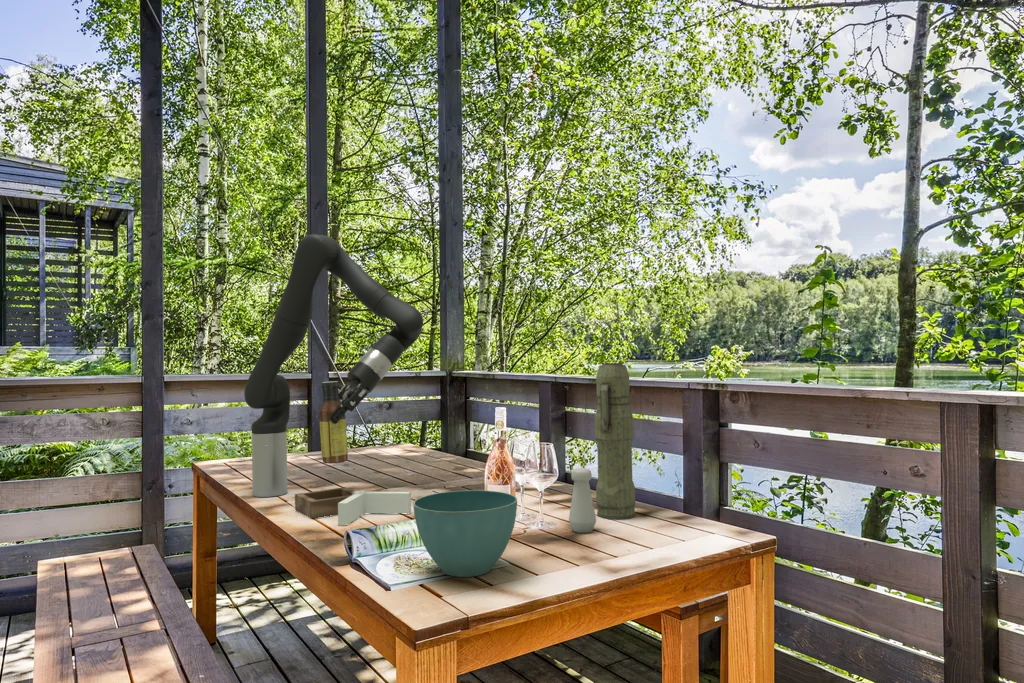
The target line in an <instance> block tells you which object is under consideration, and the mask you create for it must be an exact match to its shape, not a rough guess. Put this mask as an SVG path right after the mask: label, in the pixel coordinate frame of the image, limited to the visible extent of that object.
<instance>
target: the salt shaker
mask: <svg viewBox="0 0 1024 683" xmlns="http://www.w3.org/2000/svg"><path fill="white" fill-rule="evenodd" d="M570 474H571V475H570V476H571V477H570V478H571V480H572V481H573V486H572V487H573V488H572V496H571V503H570V509H569V516H568V522H569V524H570V527H571V529H572V532H576V533H579V534H580V533H581V534H584V533H585V534H588V533H591V532H593V531H594V528H595V526H596V523H597V516H596V511H595V506H594V502H593V497H592V491H591V486H590V481H591V480H592V472H591V470H590V469H589V468H583V467H578V468H577V467H576V468H574V469H572V470H571V473H570Z"/></svg>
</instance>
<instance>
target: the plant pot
mask: <svg viewBox="0 0 1024 683" xmlns="http://www.w3.org/2000/svg"><path fill="white" fill-rule="evenodd" d="M412 504H413V505H412V506H413V512H414V513H413V515H414V519H415V524H416V527H417V531H418V534H419V537H420V540H421V541H422V544H423V546H424V548H425V551H426V552H427V553H428V555H429V556H430V557H431V559H432V560H433V562H434V563H435V564H436V565H437V567H439V569H440V570H441V571H442V572H443V573H444V574H446V575H448V576H451V577H457V578H469V577H470V578H471V577H478V576H481V575H484V574H487V573H488V572H490V571H491V570H493V568H494V566H495V565H496V564H497V563H498V561H499V559H500V558H501V557H502V555H503V553H504V552H505V550H506V548H507V546H508V544H509V541H510V540H511V539H510V538H511V536H512V533H513V531H514V527H515V522H516V517H517V509H518V498H517V497H516V495H513V494H510V493H507V492H502V491H495V490H483V489H482V490H481V489H480V490H479V489H477V490H476V489H474V490H473V489H472V490H471V489H468V490H467V489H466V490H454V491H453V490H451V491H443V492H442V491H441V492H436V493H431V494H427V495H424V496H421V497H419V498H418V497H417V499H415V500H414V501H413V503H412Z"/></svg>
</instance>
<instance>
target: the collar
mask: <svg viewBox="0 0 1024 683" xmlns="http://www.w3.org/2000/svg"><path fill="white" fill-rule="evenodd" d="M355 491H356V490H354V489H351V488H348V487H345V486H344V487H336V488H329V489H323V490H317V491H308V492H302V493H296V494H295V493H294V511H295V510H296V511H295V512H297V511H298V512H297V513H299V512H300V513H299V514H301V513H302V514H301V515H303V514H304V515H303V516H305V515H306V516H305V517H307V516H308V518H309V517H311V518H317V519H319V518H318V517H323V518H325V517H324V516H329V517H331V516H330V515H335V516H338V503H339V502H341V501H343V500H345V499H346V498H348V497H350V496H352V492H355ZM311 518H310V519H311Z"/></svg>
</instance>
